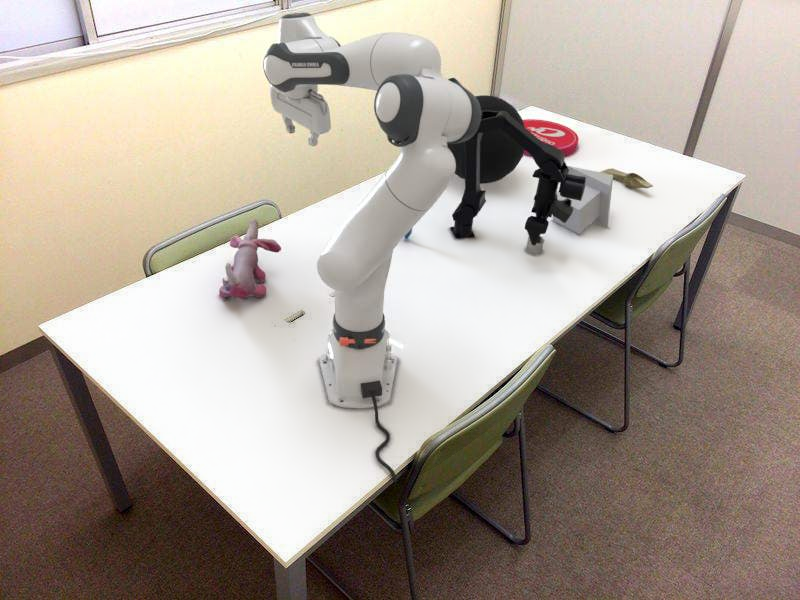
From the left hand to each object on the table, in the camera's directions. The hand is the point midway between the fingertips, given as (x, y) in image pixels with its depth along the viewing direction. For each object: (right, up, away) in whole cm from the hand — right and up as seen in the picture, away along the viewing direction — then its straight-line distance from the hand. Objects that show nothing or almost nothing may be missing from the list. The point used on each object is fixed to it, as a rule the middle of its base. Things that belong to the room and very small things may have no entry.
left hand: (301, 138), depth 165 cm
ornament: (+27, -22, +39) cm, 52 cm away
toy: (-19, -35, +18) cm, 44 cm away
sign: (+82, +24, +102) cm, 133 cm away
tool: (+108, +2, +77) cm, 133 cm away
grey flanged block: (+86, -14, +54) cm, 102 cm away
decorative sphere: (+53, +3, +74) cm, 91 cm away
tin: (+66, -25, +38) cm, 80 cm away
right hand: (+67, -22, +35) cm, 78 cm away
